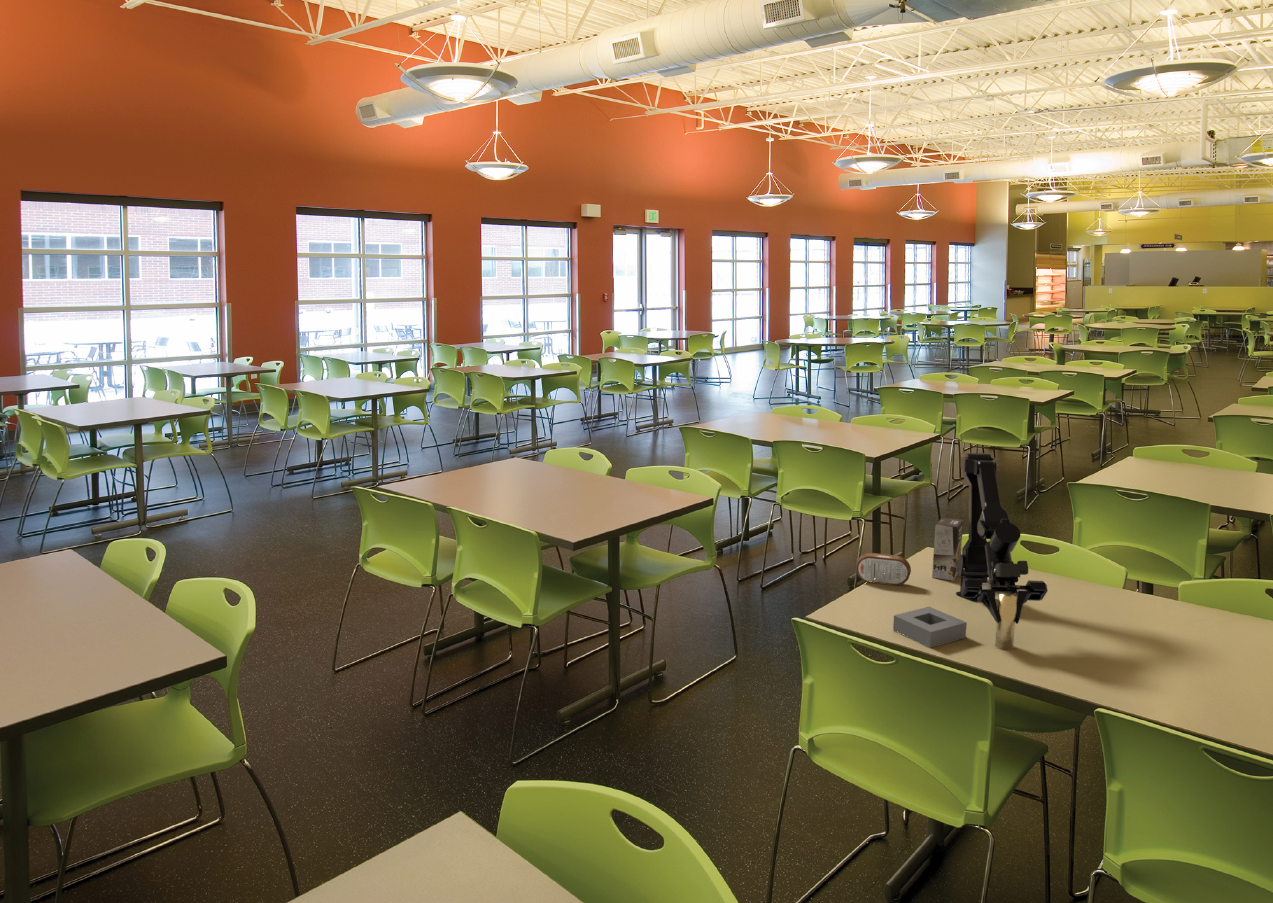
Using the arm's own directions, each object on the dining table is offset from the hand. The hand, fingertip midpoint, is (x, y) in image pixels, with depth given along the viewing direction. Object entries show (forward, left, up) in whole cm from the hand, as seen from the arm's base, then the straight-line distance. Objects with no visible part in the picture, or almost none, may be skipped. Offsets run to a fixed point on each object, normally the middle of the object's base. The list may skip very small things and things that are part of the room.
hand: (1007, 622), depth 214 cm
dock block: (-15, -9, -7) cm, 19 cm away
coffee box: (-44, +28, -7) cm, 53 cm away
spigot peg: (-1, +1, -7) cm, 7 cm away
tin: (-48, +7, -7) cm, 49 cm away
